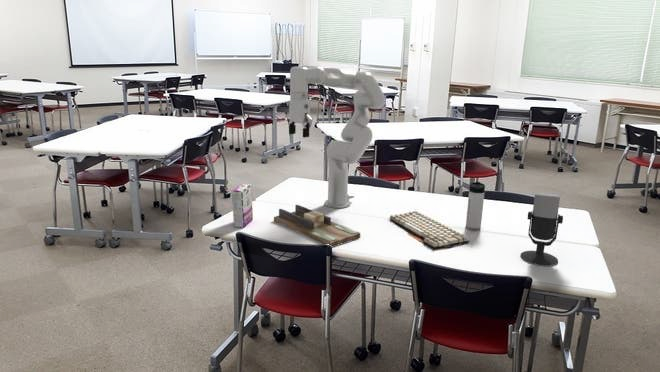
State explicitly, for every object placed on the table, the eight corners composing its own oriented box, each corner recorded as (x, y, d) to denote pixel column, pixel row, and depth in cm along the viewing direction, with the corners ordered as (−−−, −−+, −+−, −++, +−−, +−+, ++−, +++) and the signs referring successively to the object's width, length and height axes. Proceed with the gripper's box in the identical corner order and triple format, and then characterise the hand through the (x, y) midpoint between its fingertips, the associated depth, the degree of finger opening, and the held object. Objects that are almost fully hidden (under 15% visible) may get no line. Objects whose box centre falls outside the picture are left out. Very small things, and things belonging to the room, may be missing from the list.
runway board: (302, 213, 228) (302, 203, 227) (360, 237, 201) (360, 226, 199) (273, 221, 218) (273, 210, 216) (330, 247, 190) (331, 235, 189)
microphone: (556, 255, 187) (566, 192, 180) (558, 268, 175) (569, 202, 169) (520, 249, 191) (528, 188, 185) (520, 262, 180) (528, 197, 173)
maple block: (314, 220, 213) (314, 210, 212) (323, 224, 209) (323, 214, 208) (303, 223, 210) (303, 213, 208) (312, 227, 205) (313, 217, 204)
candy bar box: (242, 218, 220) (241, 183, 216) (253, 219, 219) (252, 184, 215) (232, 227, 210) (231, 190, 205) (243, 228, 209) (242, 191, 204)
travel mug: (480, 226, 216) (485, 182, 210) (480, 231, 210) (485, 186, 204) (466, 224, 218) (470, 180, 212) (465, 229, 212) (469, 184, 206)
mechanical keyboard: (382, 221, 222) (382, 214, 221) (417, 216, 230) (417, 209, 229) (435, 252, 189) (435, 244, 188) (473, 245, 197) (474, 237, 196)
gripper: (318, 97, 208) (318, 137, 213) (293, 94, 220) (293, 132, 225) (304, 98, 203) (304, 139, 208) (280, 94, 216) (280, 133, 220)
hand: (299, 135), depth 217 cm, fingers open, 9 cm apart
